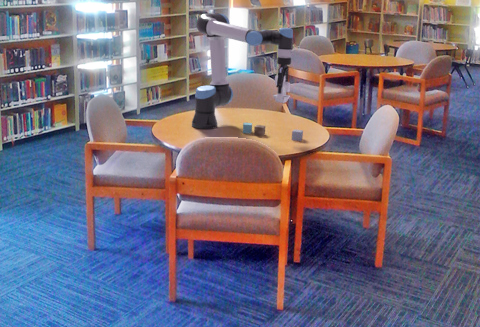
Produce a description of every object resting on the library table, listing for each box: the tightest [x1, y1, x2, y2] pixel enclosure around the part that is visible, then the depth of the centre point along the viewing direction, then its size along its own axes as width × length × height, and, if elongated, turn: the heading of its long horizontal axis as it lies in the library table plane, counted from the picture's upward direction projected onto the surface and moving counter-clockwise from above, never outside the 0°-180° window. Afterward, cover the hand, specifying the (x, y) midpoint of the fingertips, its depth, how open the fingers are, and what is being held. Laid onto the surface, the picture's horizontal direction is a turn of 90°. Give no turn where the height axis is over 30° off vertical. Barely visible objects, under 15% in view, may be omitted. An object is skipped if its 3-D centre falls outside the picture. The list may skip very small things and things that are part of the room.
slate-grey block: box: [291, 128, 304, 142], centre depth 328 cm, size 5×5×5 cm
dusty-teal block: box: [242, 122, 253, 134], centre depth 339 cm, size 5×5×5 cm
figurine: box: [272, 74, 291, 104], centre depth 326 cm, size 7×9×15 cm
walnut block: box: [253, 124, 266, 137], centre depth 335 cm, size 5×5×5 cm
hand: (281, 97), depth 328 cm, fingers closed on figurine, 8 cm apart
